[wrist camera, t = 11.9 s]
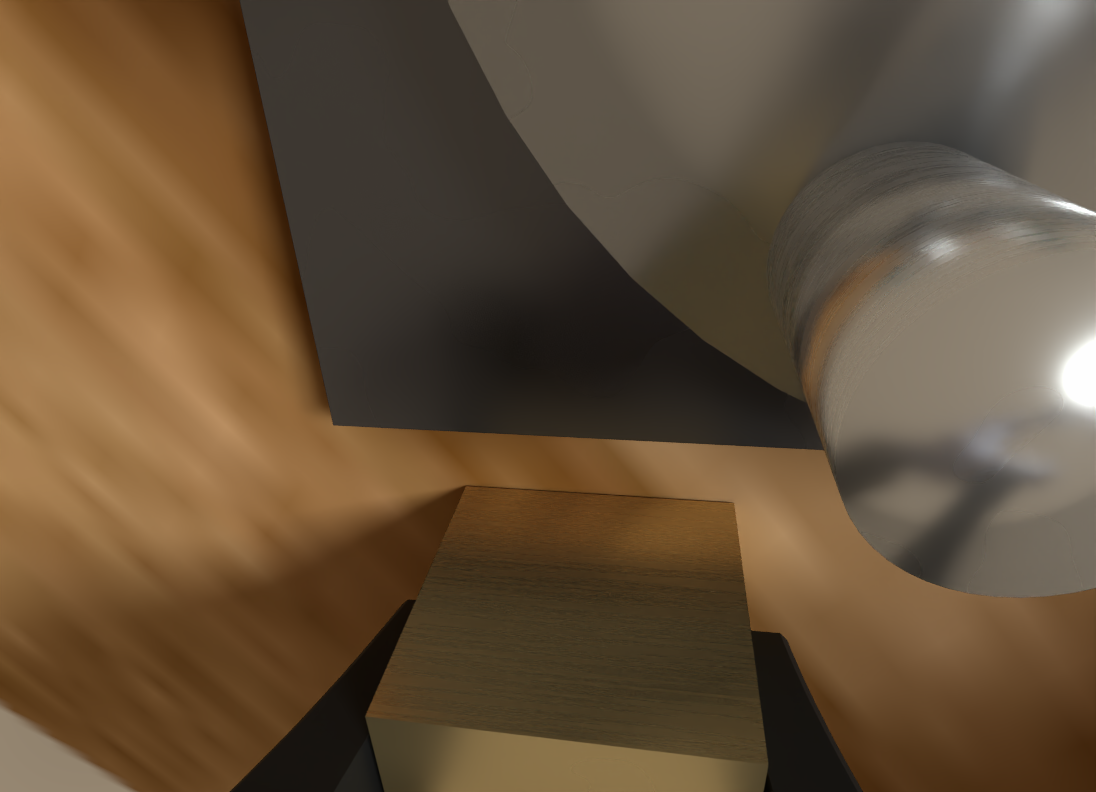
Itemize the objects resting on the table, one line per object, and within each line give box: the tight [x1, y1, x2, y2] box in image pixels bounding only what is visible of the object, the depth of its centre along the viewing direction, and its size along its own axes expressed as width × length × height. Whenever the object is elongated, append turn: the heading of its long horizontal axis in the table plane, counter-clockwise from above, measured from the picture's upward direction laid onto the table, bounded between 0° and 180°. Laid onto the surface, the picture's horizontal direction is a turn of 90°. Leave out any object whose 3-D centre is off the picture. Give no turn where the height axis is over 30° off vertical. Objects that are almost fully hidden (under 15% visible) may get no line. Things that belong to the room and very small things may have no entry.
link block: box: [365, 486, 768, 792], centre depth 9 cm, size 4×4×4 cm
